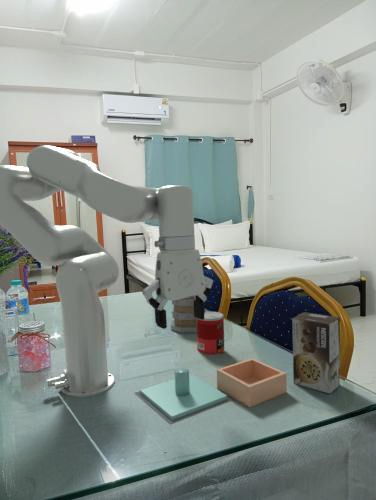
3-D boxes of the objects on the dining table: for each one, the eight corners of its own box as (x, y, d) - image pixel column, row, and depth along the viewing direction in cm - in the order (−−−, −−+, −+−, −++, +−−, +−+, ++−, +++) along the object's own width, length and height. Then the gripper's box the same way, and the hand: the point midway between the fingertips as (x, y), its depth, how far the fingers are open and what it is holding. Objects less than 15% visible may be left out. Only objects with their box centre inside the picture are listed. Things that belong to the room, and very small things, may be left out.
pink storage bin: (249, 410, 81) (249, 387, 80) (217, 390, 90) (216, 369, 89) (286, 394, 87) (286, 373, 86) (252, 377, 96) (252, 358, 95)
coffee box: (340, 384, 91) (341, 317, 89) (329, 394, 86) (330, 324, 84) (304, 374, 97) (303, 311, 95) (291, 383, 92) (291, 317, 90)
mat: (170, 427, 75) (170, 424, 75) (134, 395, 89) (134, 392, 89) (233, 402, 84) (233, 399, 84) (192, 376, 97) (192, 374, 97)
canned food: (222, 356, 110) (222, 319, 108) (195, 355, 111) (193, 318, 110) (225, 347, 117) (224, 311, 116) (199, 346, 119) (198, 311, 118)
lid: (172, 420, 77) (170, 392, 76) (140, 393, 88) (139, 368, 88) (227, 399, 84) (226, 373, 84) (191, 376, 96) (190, 354, 95)
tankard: (207, 332, 131) (206, 289, 130) (170, 333, 132) (168, 290, 130) (206, 316, 151) (205, 278, 149) (173, 316, 151) (172, 279, 150)
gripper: (149, 249, 75) (154, 335, 77) (220, 241, 84) (223, 318, 86) (132, 247, 81) (137, 326, 83) (200, 240, 90) (203, 311, 92)
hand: (181, 322), depth 84 cm, fingers open, 9 cm apart
